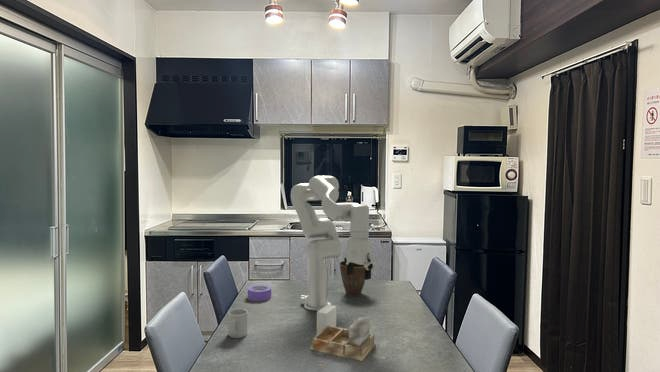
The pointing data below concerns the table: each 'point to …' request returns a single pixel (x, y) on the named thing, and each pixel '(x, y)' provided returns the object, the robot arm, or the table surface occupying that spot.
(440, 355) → the table surface
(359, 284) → the plant pot
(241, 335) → the cup
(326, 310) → the panel
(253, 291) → the tape roll
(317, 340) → the rack
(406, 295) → the table surface
